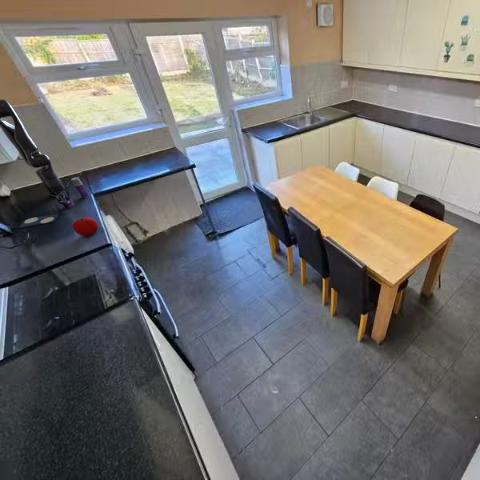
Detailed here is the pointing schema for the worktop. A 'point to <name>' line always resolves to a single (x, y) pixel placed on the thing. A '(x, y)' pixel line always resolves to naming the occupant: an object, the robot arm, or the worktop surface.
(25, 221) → the mat
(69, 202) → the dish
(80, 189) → the container
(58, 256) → the worktop surface
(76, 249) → the worktop surface
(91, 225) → the tomato
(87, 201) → the worktop surface
